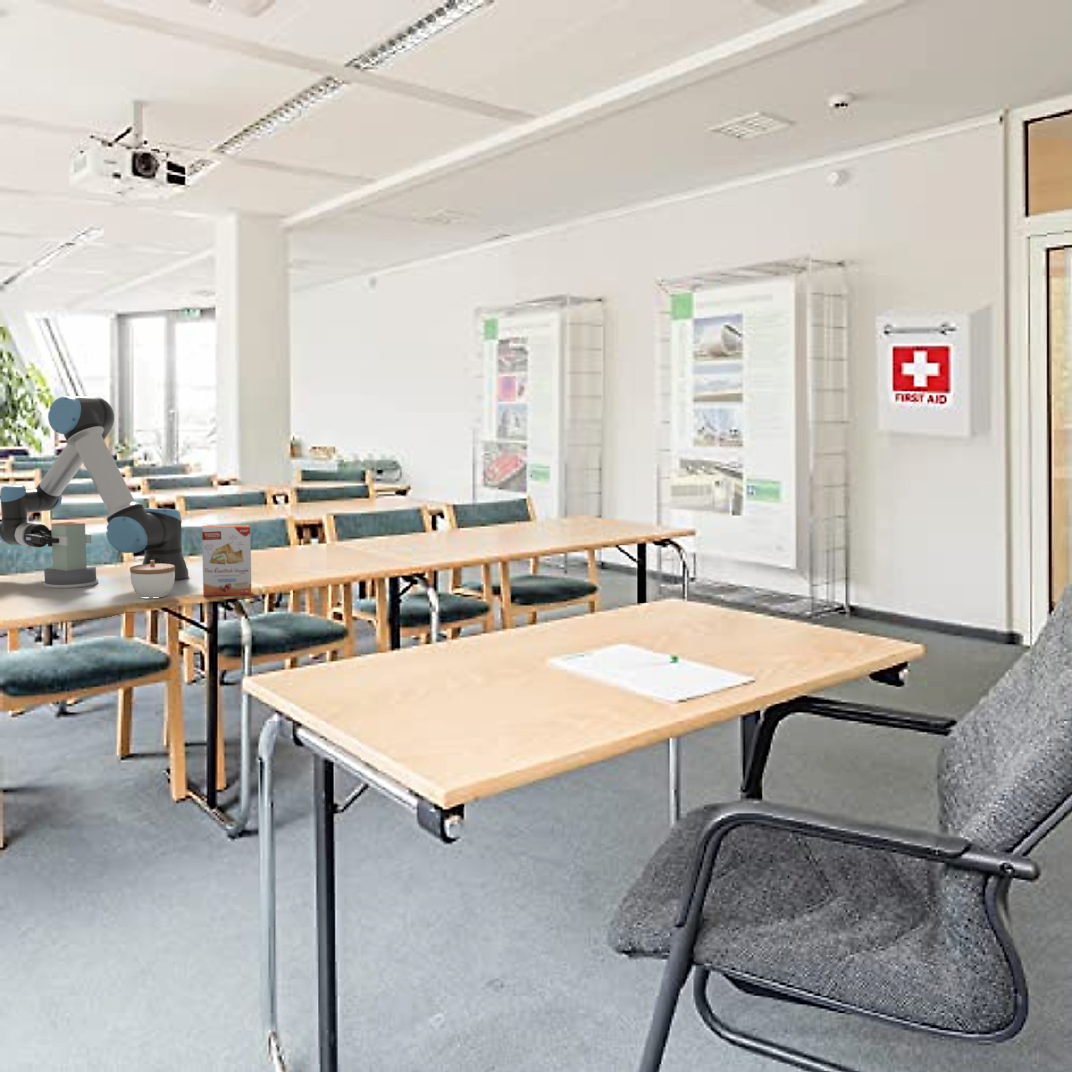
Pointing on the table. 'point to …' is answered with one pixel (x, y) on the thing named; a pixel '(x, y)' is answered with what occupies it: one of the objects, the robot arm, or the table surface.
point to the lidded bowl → (152, 579)
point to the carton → (69, 546)
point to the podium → (70, 578)
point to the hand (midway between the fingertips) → (78, 540)
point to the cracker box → (226, 560)
